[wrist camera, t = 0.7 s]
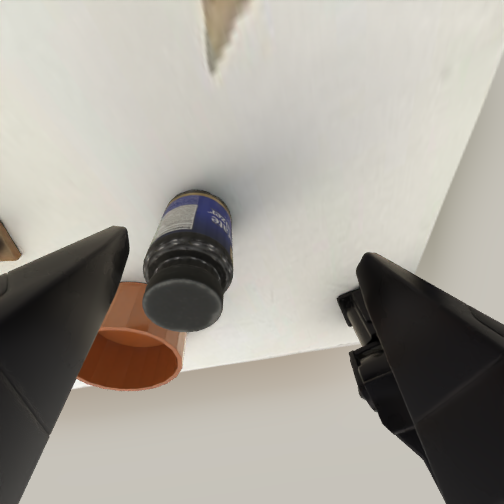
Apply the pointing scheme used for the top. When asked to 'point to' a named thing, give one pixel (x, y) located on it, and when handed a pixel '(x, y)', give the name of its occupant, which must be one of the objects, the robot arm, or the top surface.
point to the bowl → (132, 347)
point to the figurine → (7, 246)
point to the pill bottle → (189, 263)
